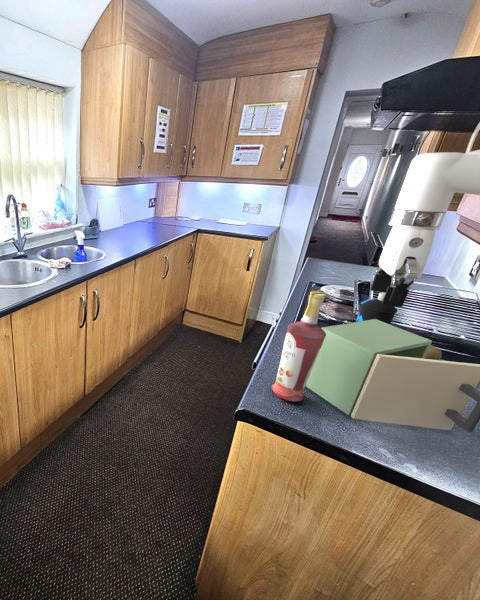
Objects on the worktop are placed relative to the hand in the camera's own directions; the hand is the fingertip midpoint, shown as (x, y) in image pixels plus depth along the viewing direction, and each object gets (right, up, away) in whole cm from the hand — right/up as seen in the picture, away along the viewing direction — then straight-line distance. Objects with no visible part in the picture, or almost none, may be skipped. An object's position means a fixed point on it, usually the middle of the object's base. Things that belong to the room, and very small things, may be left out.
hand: (384, 298), depth 72 cm
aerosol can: (+21, -17, +30) cm, 40 cm away
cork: (+23, -23, +16) cm, 36 cm away
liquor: (-16, -25, +10) cm, 31 cm away
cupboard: (+2, -24, +12) cm, 27 cm away
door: (+4, -29, -1) cm, 30 cm away
